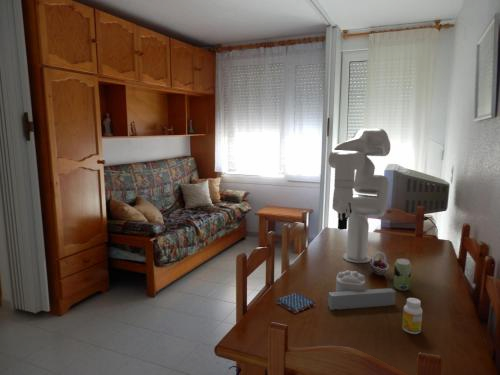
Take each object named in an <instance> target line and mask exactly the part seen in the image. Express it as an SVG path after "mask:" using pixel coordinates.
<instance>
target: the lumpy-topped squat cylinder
mask: <svg viewBox="0 0 500 375" xmlns="http://www.w3.org/2000/svg"><path fill="white" fill-rule="evenodd" d="M335 278H336V279H335V282H336V283H335V292H343V291H358V290H366V277H365V275H364V274H361V273H360V272H358V271H357V270H349V269H348V270H347V269H346V270H345V271H339V272H338V273H337V275H336V277H335Z"/></svg>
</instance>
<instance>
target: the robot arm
mask: <svg viewBox="0 0 500 375" xmlns="http://www.w3.org/2000/svg"><path fill="white" fill-rule="evenodd" d="M390 152H391V142H390V138H389V136H388V133H387V132H386V130H385V129H383V128H360V129H359V130H357V131H356V132H355V133H354V135H353V136H352V137H351V139H348V140H345V141H343V142H340V143H338V144H336V145H335V146H334V147H333V148H332V149H331V151H330V153H329V155H328V165H329V166H330V167H331V168H332V169H334V183H333V184H334V189H333V197H332V209H333V211H335V212H336V213H337V229H338V230H340V231H341V230H347V235H346V236H347V237H346V239H347V240H346V241H347V242H346V247H345V249H346V252H345V253H344V254H342V256H343V258H342V259H344V260H345V261H347V262H350V263H356V264H366V263H369V262H370V261H371V257H370V256H369V255H368V247H369V246H368V244H369V229H370V228H369V222H368V219H367V218H366V217H365V216H369V217H383V216H384V215H385V213H386V209H387V203H388V196H389V190H390V189H389V188H390V187H389V186H390V183H389V182H390V181H389V179H388V177H387V176H386V175H382V174H375V169H376V166H375V164H374V162H373V161H372V160H371V159H370V158H369V157H386V156H388V155H389V154H390ZM368 156H369V157H368ZM354 192H355V194H354ZM356 193H357V194H356Z"/></svg>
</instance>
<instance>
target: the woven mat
mask: <svg viewBox="0 0 500 375" xmlns="http://www.w3.org/2000/svg"><path fill="white" fill-rule="evenodd" d="M275 302H276V304H277V305H279V306H280V307H281V308H285V309H286V310H287V311H289V310H290V312H291V311H292V313H293V312H294V313H293V314H295V313H300V312H299V311H301V310H303V311H305V310H306V308H308V307H309V308H308V309H310V308H311V307H310V306H312V305H313V306H312V307H315V306H316V302H315V301H314V300H311V298H308V297H307V296H304V295H302V293H301V294H300V293H298V292H295V293H291V294H289V295H285V296H282V297H280V298H277V299H276V301H275ZM310 304H311V305H310ZM304 309H305V310H304Z"/></svg>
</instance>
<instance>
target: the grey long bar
mask: <svg viewBox="0 0 500 375" xmlns="http://www.w3.org/2000/svg"><path fill="white" fill-rule="evenodd" d="M327 294H328V295H327V307H328V306H329V307H328V309H329V310H330V311H333V310H335V309H337V310H346V309H348V308H349V309H358V308H360V309H361V308H373V307H384V306H385V307H386V306H395V305H396V296H397V295H396V294H397V291H396V290H394V289H393V288H392V287H390V288H375V289H373V288H372V289H365V290H358V291H343V292H336V291H333V292H331V291H330V292H327Z"/></svg>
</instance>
